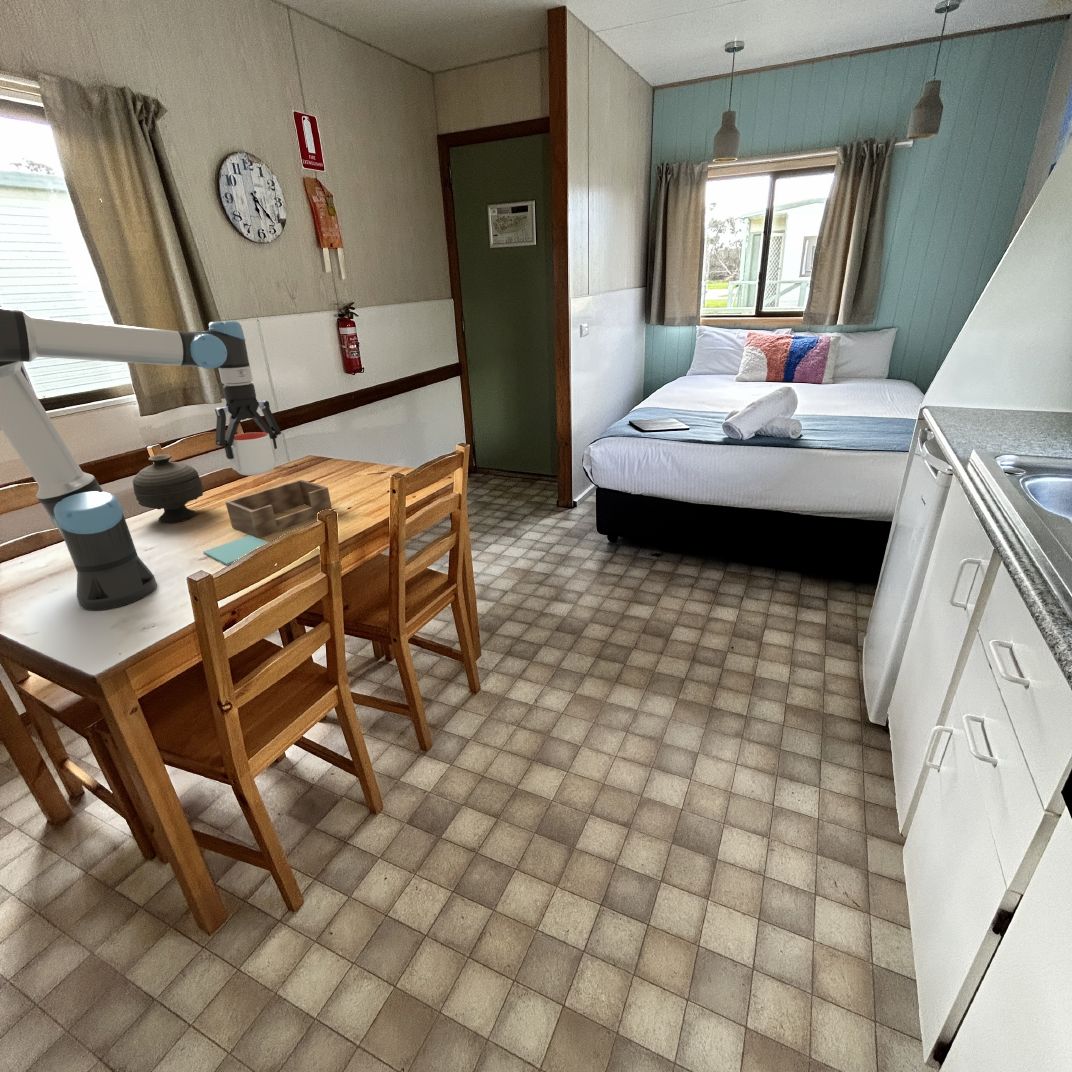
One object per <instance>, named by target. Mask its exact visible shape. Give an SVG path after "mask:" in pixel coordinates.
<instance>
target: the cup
mask: <svg viewBox="0 0 1072 1072" xmlns="http://www.w3.org/2000/svg"><path fill="white" fill-rule="evenodd" d="M232 446H234V447H235V448H236V452H237V457H238V461H239V466H240V471H236V472H237V473H238V474H240V475H243V476H259V475H264V474H267V473H270V472H272V471H273V470H274V469H275V468H276V462H275V461H274V456H273V451H272V446H271V441H270V436H269V434H268V433H264V432H263V431H262V432H258V431H257V432H245V433H240V434H239V433H238V434H235V437H234V440H233V444H232Z"/></svg>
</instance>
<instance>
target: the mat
mask: <svg viewBox="0 0 1072 1072" xmlns="http://www.w3.org/2000/svg"><path fill="white" fill-rule="evenodd" d="M266 543H269V542H267V541H265V540H263V539H261V538H259V539H258V538H256V537H254V536H252V535H246V536H244V537H241V538H238V539H236V540H233V541H229V542H226V543H223V544H221V545H219V546H214V547H212V548H209V549H206V550H204V551H202V553H203V554H204V555H206V556H208V557H209V558H211V559H213V560H215V561H217V562H219V563H221V564H223V565H225V566H227V565H228V566H229V565H230V566H231V565H232V564H231V563H233V562H234V561H236V560H238V558H240V557H242V556H244V555H245V554H248V553H249V552H250V551H252V550H254V549H256V548H257V547H259V546H262V545H264V544H266ZM233 564H234V563H233Z"/></svg>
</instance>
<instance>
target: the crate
mask: <svg viewBox="0 0 1072 1072" xmlns="http://www.w3.org/2000/svg"><path fill="white" fill-rule="evenodd" d="M330 496H331V495H330V491H329V488H328V487H327V486H324V485H321V484H317V483H314V482H309V481H307V480H304V479H298V480H294V481H290V482H288V483H285V484H282V485H278V486H275V487H274V486H273V487H270V488H267V489H264V490H261V491H258V492H254V493H251V494H248V495H244V496H241V497H237V498H233V499H231V500H226V501H224V502H225V506H226V509H227V512H228V517H229V519H230V520H229V521H230V525H231V528H233V529H234V530H237V531H239V532H242V533H244V534H246V535H247V536H249V535H252V536H254V537H256V538H258V539H261V538H264V537H267V536H270V535H272V534H276V533H278V532H282V531H284V530H287V529H289V528H292V527H295V526H299V525H300V524H304V523H306V522H309V521H312V520H315V519H318V518H317V513H318V512H320V511H322V510H325V509H332V510H333V507H332V501H331V497H330ZM301 506H308V507H307V508H304V509H300V510H298V511H295V512H292V513H288V514H285V515H283V516H280V517H277V518H276V516H275V515H278V514H280V513H283V512H286V511H287V512H288V511H290V510H293V509H296V508H298V507H301Z"/></svg>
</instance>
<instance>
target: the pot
mask: <svg viewBox="0 0 1072 1072" xmlns="http://www.w3.org/2000/svg"><path fill="white" fill-rule="evenodd" d="M172 458H173V457H172V455H171V454H169V453H167V454H164V453H163V454H159V455H157V454H156V455H152V456H149V457H148V459H147V460H148V461H149V462H151V463H153V464H151V465H148V466H146V467H144V468H143V469H141V470H139V472H138V473H136V475H135V476H134V477H133V479H132V487H133V493H134V495H135V499H136V500H137V502H138V504H139V505H140V506H142V507H144V508H149V509H156V510H163V513H162V514H161V515H160V516H159V517H158V522H159V523H161V524H177V523H182V522H185V521H187V520H190V519H193V518H194V517H196V515H197V512H196V510H193V509H190V508H188V507H187V506H186V504H188V503H189V502H191V501H194V500H197V499H199V498H200V497H203V495H204V492H203V490H204V487H203V484H202V483H203V481H202V479H201V478H200V476H199V472H198V471H197V469H195V467H193V466H191V465H188V464H186V463H183V462H179V461H170V459H172Z"/></svg>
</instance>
